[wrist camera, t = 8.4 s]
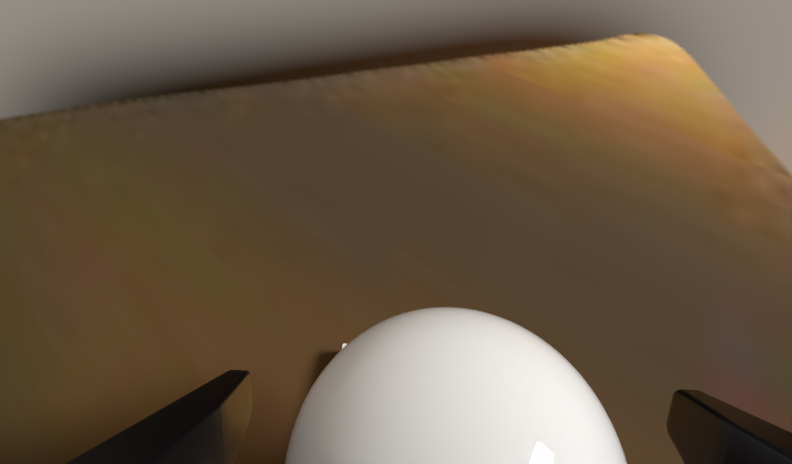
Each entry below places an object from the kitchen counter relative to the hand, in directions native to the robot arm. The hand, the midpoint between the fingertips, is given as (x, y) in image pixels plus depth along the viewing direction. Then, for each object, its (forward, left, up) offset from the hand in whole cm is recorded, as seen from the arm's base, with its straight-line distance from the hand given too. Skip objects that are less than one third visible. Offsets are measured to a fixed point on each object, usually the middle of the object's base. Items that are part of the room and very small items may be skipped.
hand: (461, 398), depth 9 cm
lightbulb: (-1, 0, -8) cm, 8 cm away
